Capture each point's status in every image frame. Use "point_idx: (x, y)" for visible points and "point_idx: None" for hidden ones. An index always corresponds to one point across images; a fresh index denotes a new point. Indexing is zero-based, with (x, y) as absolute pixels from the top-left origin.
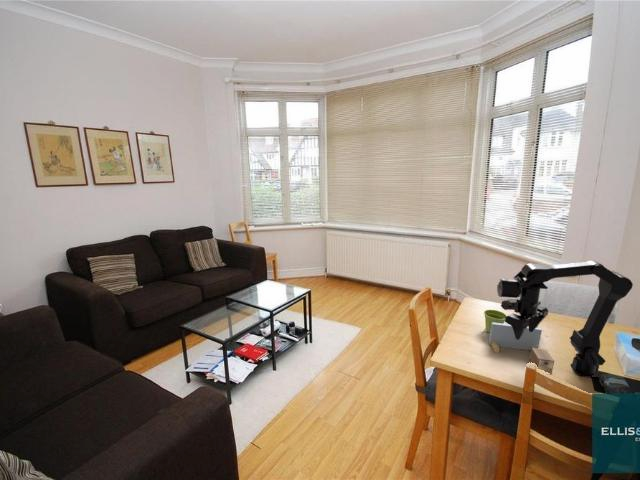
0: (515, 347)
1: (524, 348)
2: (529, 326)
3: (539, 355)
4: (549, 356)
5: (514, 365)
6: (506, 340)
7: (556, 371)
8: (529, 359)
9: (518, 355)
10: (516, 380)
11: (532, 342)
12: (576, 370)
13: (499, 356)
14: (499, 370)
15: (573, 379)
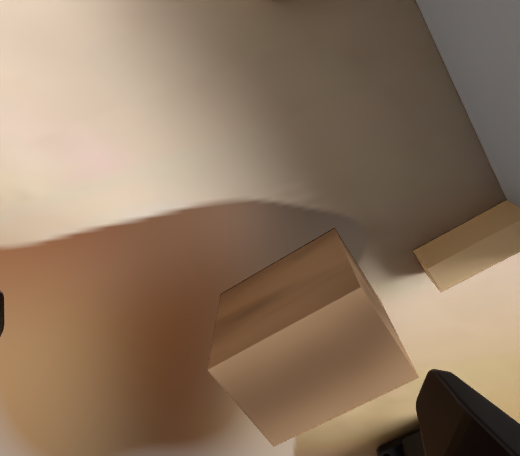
0: (462, 93)
1: (490, 157)
2: (483, 441)
3: (266, 362)
4: (315, 412)
5: (181, 172)
6: (452, 4)
7: None
8: (336, 232)
9: (352, 149)
10: (15, 236)
11: None
12: (403, 447)
13: (211, 34)
14: (13, 112)
15: (314, 436)
